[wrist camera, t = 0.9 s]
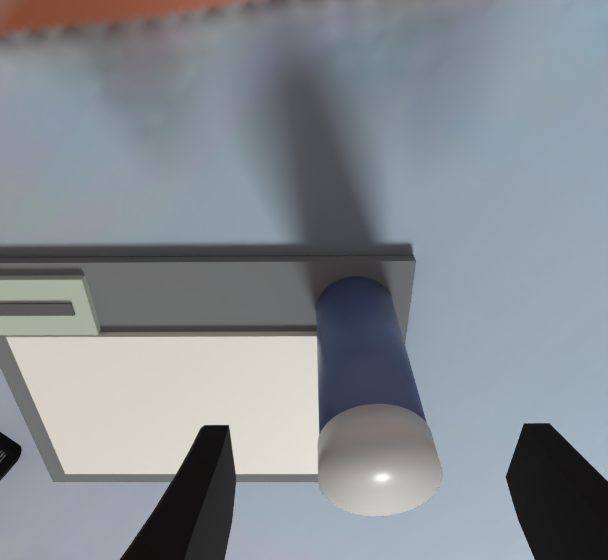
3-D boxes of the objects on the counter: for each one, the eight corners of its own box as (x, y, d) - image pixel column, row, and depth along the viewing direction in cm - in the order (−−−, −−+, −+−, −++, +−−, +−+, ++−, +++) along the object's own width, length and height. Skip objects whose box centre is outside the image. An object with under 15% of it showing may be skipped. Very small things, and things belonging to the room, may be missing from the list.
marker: (397, 275, 16) (451, 438, 10) (390, 340, 18) (433, 516, 12) (315, 275, 16) (318, 437, 10) (314, 340, 18) (317, 515, 12)
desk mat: (413, 255, 16) (415, 260, 16) (385, 474, 22) (386, 482, 22) (-41, 257, 16) (-48, 263, 16) (56, 474, 23) (53, 481, 22)
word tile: (85, 275, 16) (80, 281, 16) (101, 330, 17) (97, 336, 17) (-28, 275, 16) (-36, 281, 16) (-4, 330, 17) (-10, 337, 17)
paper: (326, 331, 17) (326, 336, 17) (324, 468, 22) (324, 474, 21) (10, 332, 18) (6, 337, 17) (68, 468, 22) (65, 474, 21)
